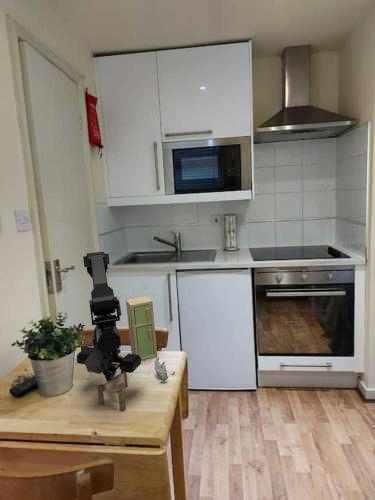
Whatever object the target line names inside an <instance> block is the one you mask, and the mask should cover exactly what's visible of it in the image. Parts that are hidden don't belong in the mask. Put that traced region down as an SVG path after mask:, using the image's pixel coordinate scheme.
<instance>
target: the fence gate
mask: <svg viewBox="0 0 375 500" xmlns="http://www.w3.org/2000/svg"><path fill="white" fill-rule="evenodd" d="M127 373H128V372H122V371H121V370H120V373H119V374H117V375H115V376H114V378H112V379H111V380H110V381H108V382H107V381H106V382H105V383H104V384H103V385H104V388H105V390H106V389H107V390H111V391H114V392H117V393H118V392H119V391H123V390H124V389H125V388H128V386H129V385H128V384H129V383H128V375H127Z"/></svg>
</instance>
